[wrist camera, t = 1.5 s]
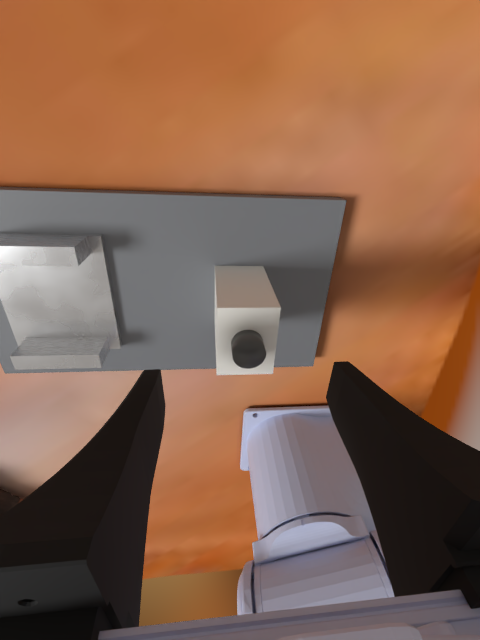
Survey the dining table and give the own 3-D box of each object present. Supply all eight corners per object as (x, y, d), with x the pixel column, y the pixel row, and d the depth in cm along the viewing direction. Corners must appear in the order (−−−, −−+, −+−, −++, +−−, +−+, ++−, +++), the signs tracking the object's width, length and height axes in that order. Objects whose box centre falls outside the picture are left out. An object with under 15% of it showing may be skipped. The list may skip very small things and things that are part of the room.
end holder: (102, 234, 18) (88, 247, 16) (122, 345, 22) (113, 367, 19) (-20, 232, 17) (-51, 245, 15) (22, 346, 21) (2, 369, 19)
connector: (263, 266, 20) (285, 318, 14) (258, 321, 22) (276, 386, 16) (214, 265, 19) (217, 318, 14) (214, 321, 21) (217, 388, 16)
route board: (340, 197, 19) (346, 200, 18) (309, 358, 25) (313, 366, 24) (-60, 184, 17) (-75, 187, 16) (12, 364, 23) (5, 373, 22)
